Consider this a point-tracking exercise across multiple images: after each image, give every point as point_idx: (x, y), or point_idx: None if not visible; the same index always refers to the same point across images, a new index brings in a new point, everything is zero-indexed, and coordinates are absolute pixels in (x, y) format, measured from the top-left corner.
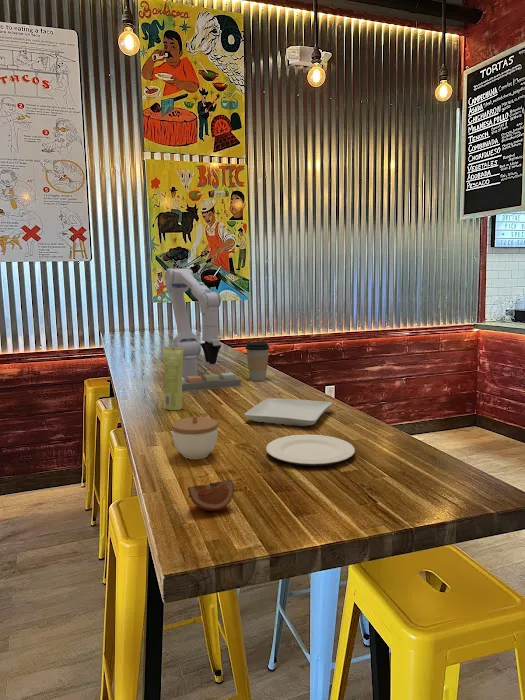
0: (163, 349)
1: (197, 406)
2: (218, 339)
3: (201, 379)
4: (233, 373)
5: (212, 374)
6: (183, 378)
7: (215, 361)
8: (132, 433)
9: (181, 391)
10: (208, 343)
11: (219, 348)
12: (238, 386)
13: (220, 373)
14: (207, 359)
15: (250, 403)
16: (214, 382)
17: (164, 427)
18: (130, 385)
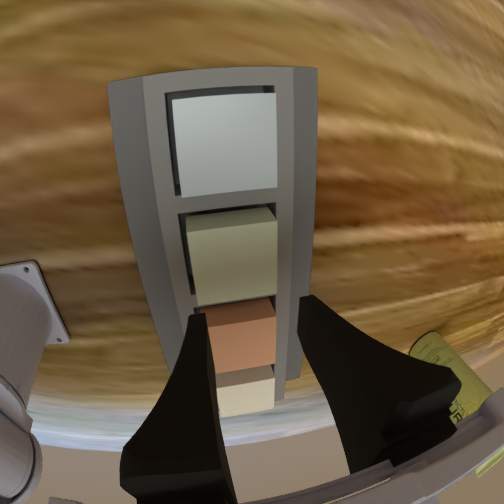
0: (478, 469)
1: (441, 298)
2: (472, 460)
3: (273, 311)
4: (220, 95)
5: (204, 253)
6: (263, 381)
7: (325, 308)
8: (472, 369)
9: (461, 359)
10: (233, 495)
11: (433, 368)
12: (308, 94)
13: (184, 194)
14: (213, 360)
15: (493, 155)
16: (289, 238)
17: (484, 340)
18: (112, 438)
